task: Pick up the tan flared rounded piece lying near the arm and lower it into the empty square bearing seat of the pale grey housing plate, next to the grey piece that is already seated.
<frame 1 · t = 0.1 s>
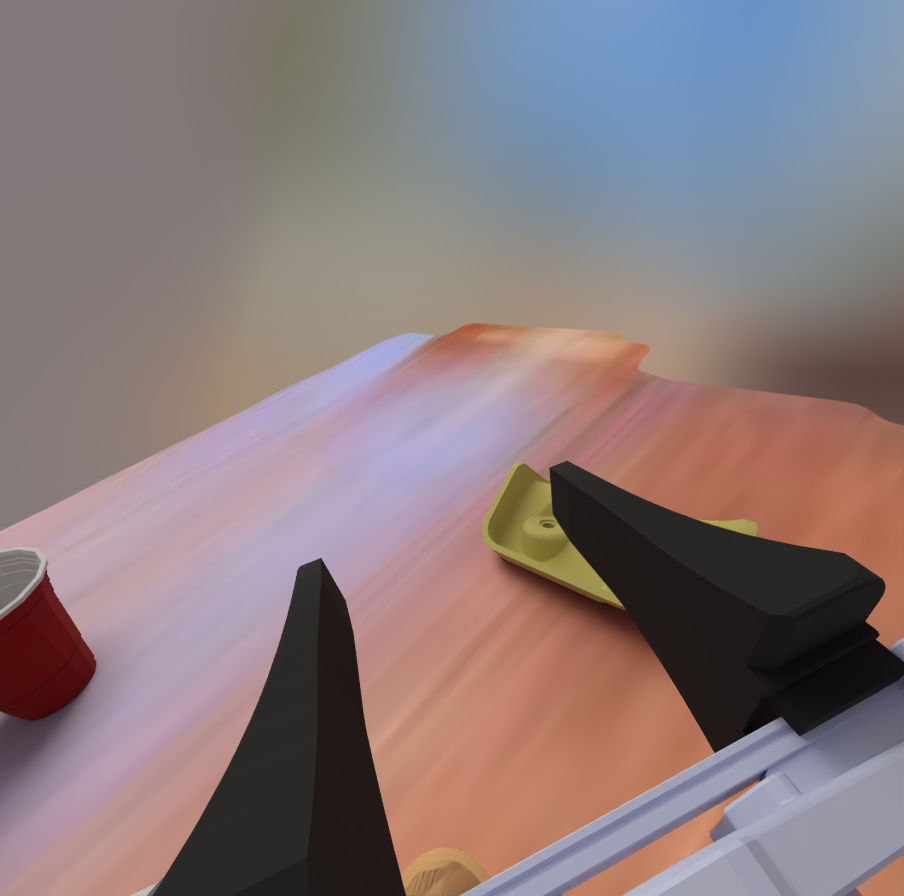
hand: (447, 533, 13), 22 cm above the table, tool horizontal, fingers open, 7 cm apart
plastic component: (602, 563, 38), on the table
plastic cup: (64, 685, 38), on the table
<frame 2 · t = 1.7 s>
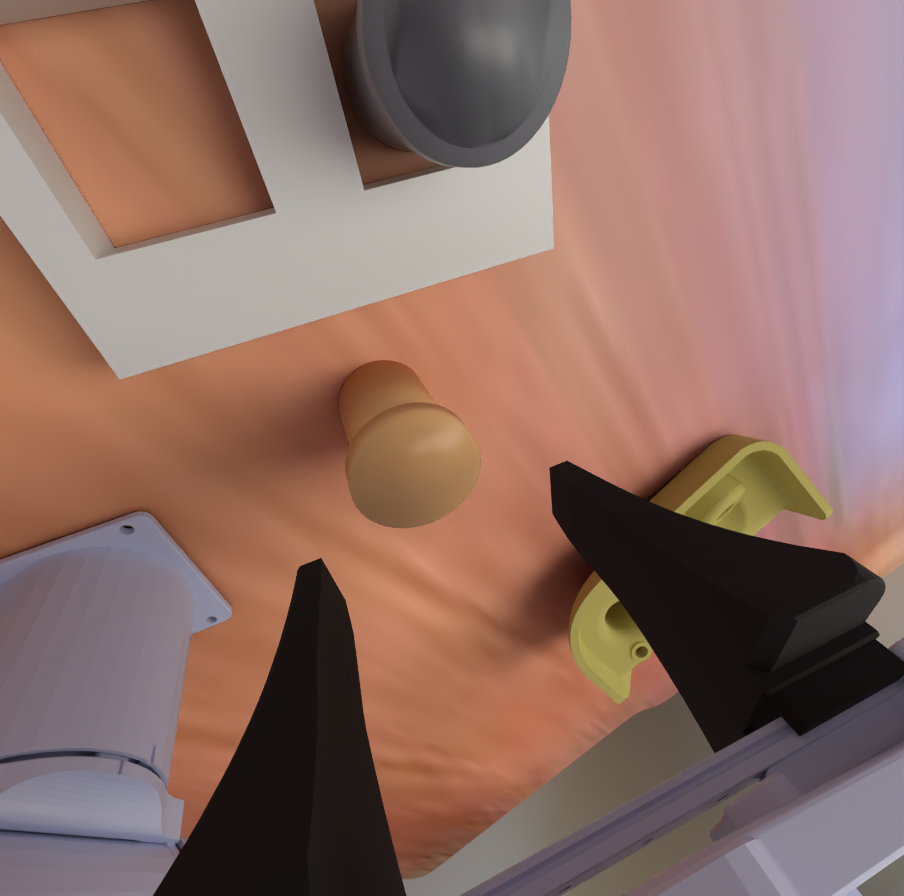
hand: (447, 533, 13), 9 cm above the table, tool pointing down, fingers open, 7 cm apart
grey piece: (405, 76, 14), resting in housing
housing: (284, 102, 14), on the table
plastic component: (646, 530, 34), on the table
tan flared rounded piece: (382, 401, 20), on the table
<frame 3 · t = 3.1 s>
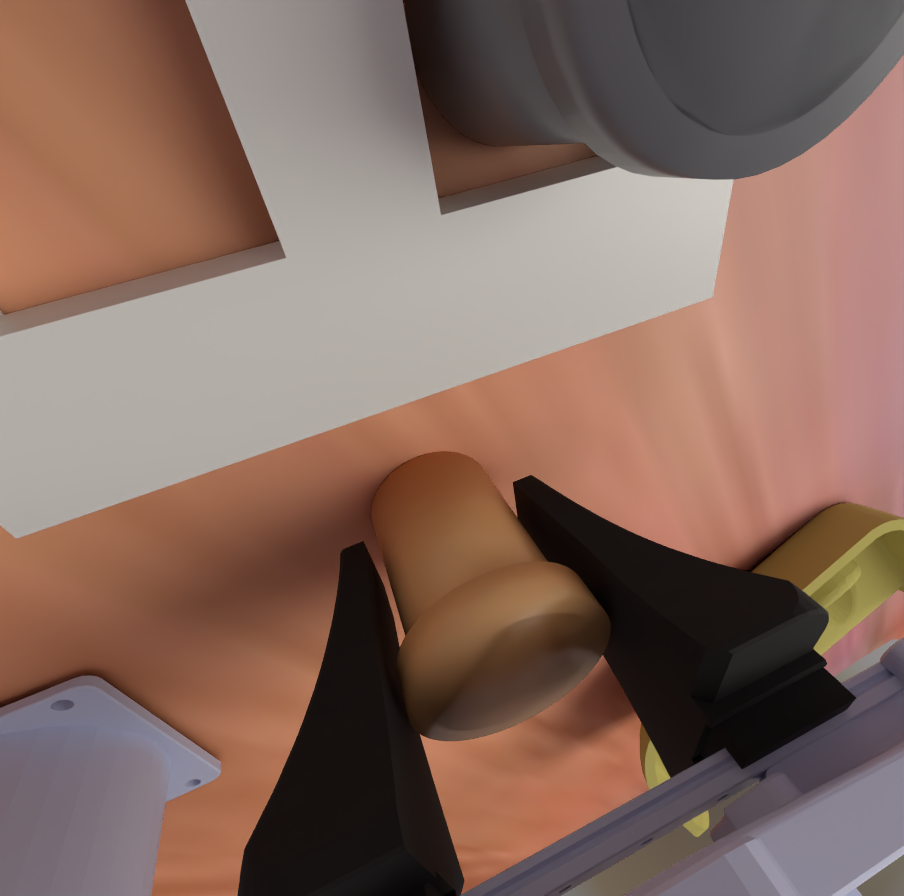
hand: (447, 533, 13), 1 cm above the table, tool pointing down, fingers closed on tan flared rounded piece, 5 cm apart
grey piece: (507, 18, 8), resting in housing
housing: (300, 59, 8), on the table
plastic component: (724, 608, 28), on the table
tan flared rounded piece: (432, 503, 14), on the table, touching gripper
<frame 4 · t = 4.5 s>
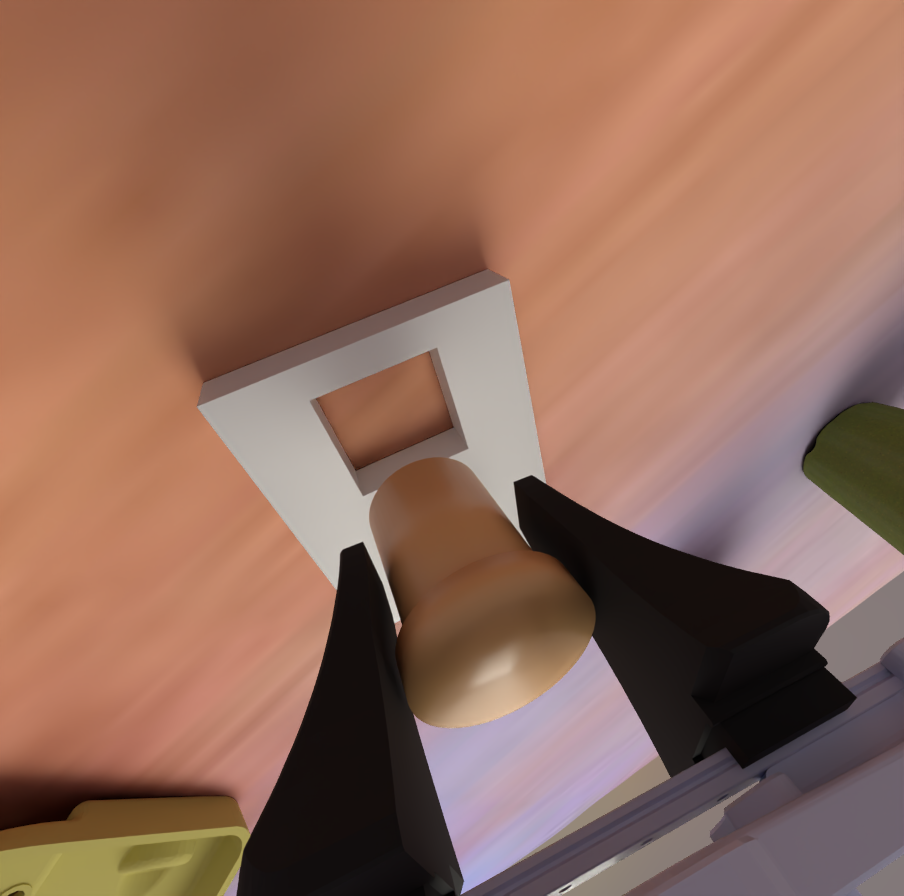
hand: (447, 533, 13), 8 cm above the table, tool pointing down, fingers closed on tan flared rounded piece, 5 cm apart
housing: (414, 469, 22), on the table
plastic component: (84, 821, 29), on the table
plant pot: (835, 437, 35), on the table
tan flared rounded piece: (427, 508, 15), point 6 cm above the table, touching gripper
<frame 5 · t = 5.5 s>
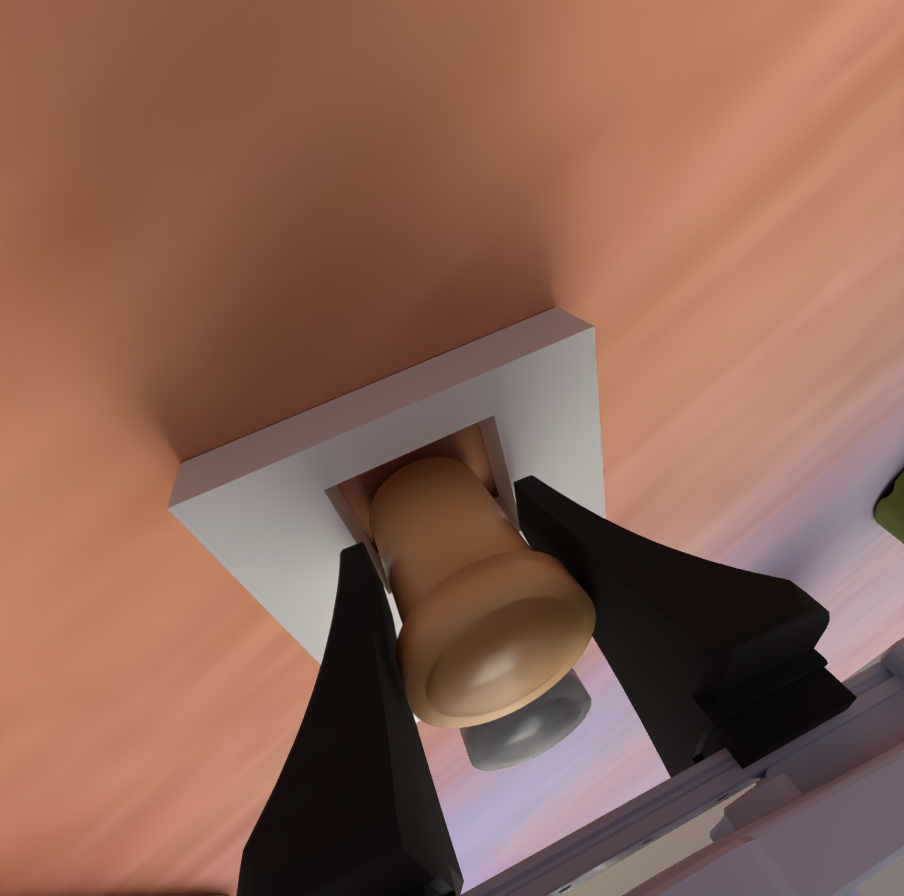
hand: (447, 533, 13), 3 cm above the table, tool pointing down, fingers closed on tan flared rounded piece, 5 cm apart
grey piece: (470, 598, 20), resting in housing
housing: (448, 546, 18), on the table
tan flared rounded piece: (427, 508, 15), point 1 cm above the table, touching gripper
when the fingers open (3 cm above the table, at t = 6.1 s): tan flared rounded piece stays where it is, resting in housing.
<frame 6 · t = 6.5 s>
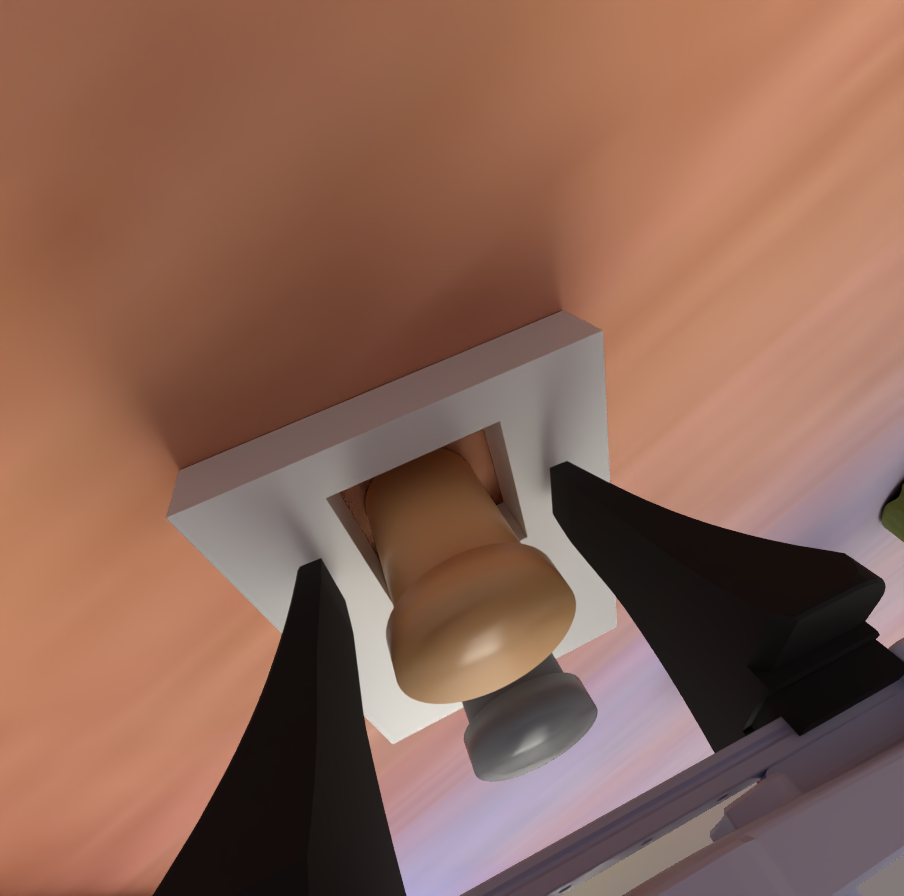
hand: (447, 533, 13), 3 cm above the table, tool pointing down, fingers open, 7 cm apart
grey piece: (473, 604, 20), resting in housing
housing: (452, 552, 18), on the table
tan flared rounded piece: (421, 495, 15), resting in housing
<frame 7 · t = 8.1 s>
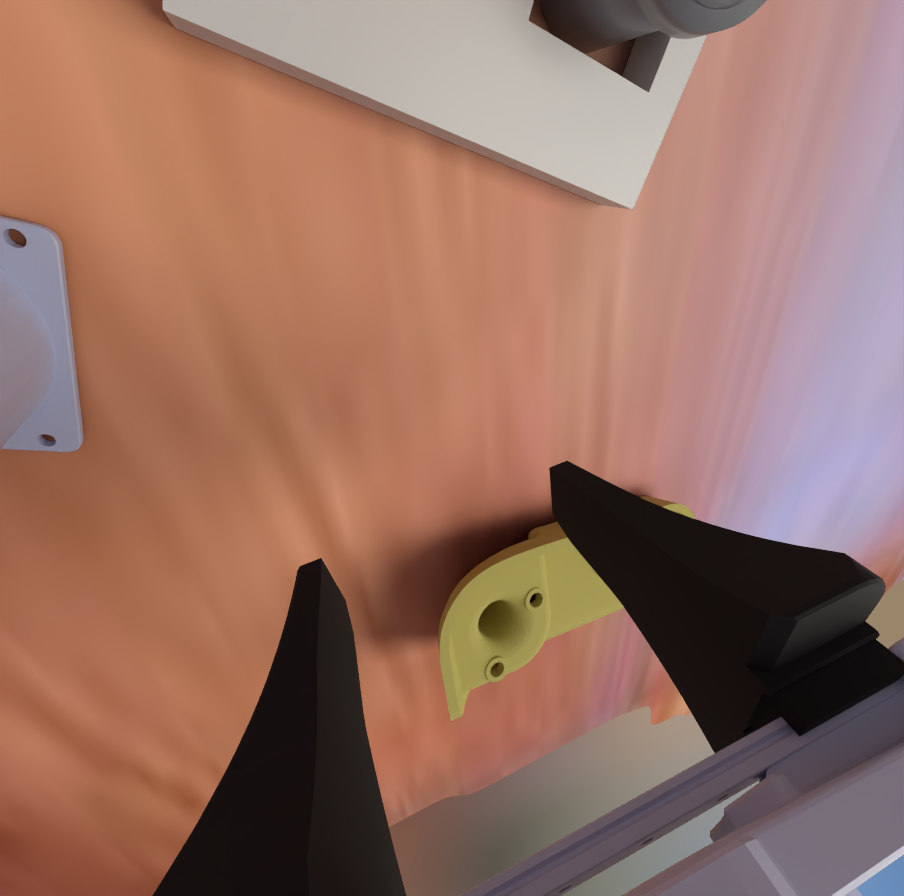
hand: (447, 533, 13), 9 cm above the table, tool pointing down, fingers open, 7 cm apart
plastic component: (542, 556, 32), on the table
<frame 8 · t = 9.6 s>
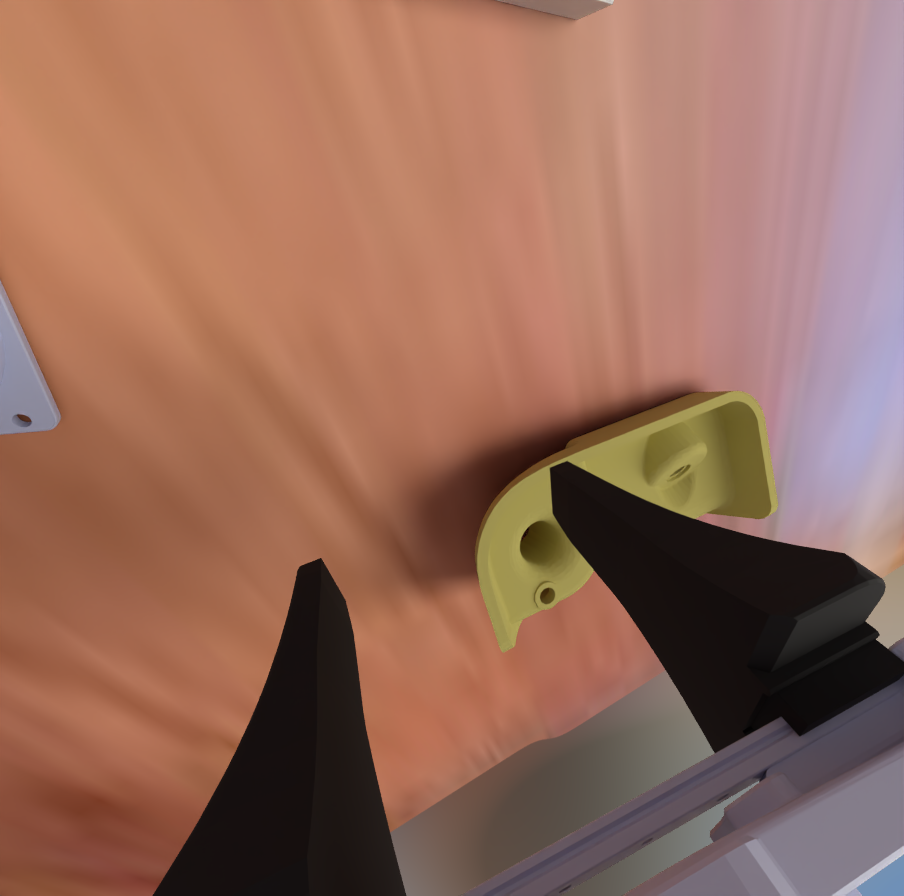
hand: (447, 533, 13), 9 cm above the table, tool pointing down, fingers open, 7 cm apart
plastic component: (585, 476, 29), on the table
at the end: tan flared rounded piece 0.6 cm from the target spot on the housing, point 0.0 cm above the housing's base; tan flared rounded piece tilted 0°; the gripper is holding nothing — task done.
